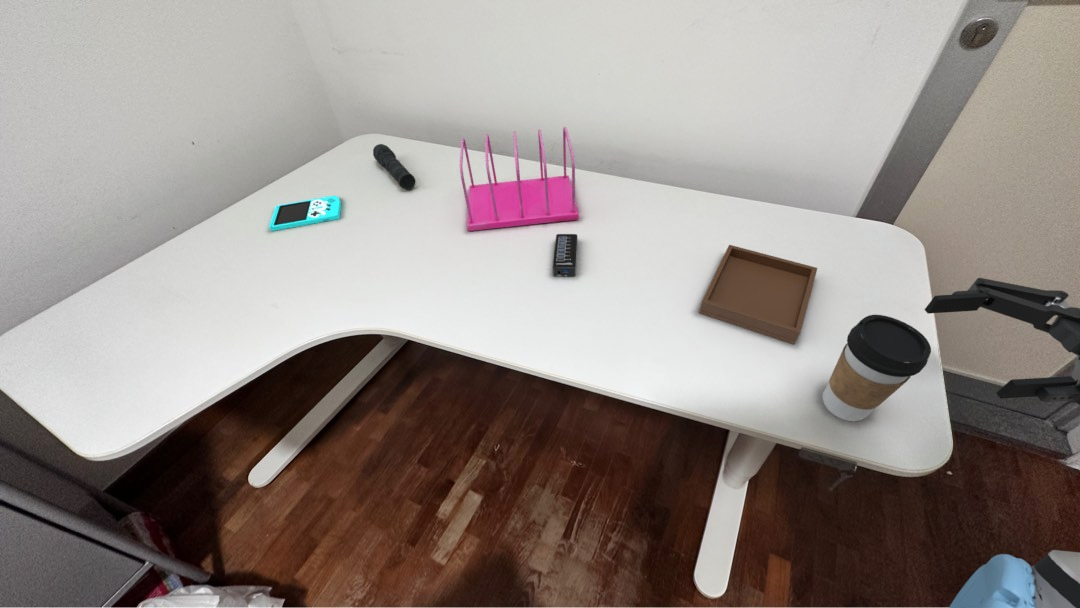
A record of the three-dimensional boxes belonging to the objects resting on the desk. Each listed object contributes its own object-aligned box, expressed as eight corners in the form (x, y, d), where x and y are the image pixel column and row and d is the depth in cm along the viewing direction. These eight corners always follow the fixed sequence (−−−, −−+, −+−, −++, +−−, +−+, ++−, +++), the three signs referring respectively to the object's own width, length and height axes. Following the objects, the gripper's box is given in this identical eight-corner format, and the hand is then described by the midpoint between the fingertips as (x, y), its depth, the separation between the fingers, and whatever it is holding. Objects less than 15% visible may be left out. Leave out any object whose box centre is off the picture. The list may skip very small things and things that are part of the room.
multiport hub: (577, 242, 97) (577, 233, 95) (575, 276, 89) (575, 267, 88) (556, 242, 98) (556, 233, 96) (553, 276, 90) (552, 267, 88)
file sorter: (578, 220, 103) (578, 155, 91) (468, 232, 102) (454, 168, 91) (569, 181, 115) (567, 119, 104) (470, 191, 115) (458, 130, 103)
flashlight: (392, 157, 130) (386, 141, 127) (419, 187, 118) (414, 169, 114) (375, 163, 129) (369, 146, 125) (401, 194, 116) (395, 176, 112)
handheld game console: (339, 219, 109) (337, 214, 108) (270, 232, 108) (267, 227, 107) (342, 198, 116) (340, 193, 115) (277, 209, 115) (274, 204, 114)
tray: (794, 344, 74) (800, 332, 72) (698, 313, 80) (701, 301, 78) (811, 280, 84) (817, 267, 82) (725, 256, 91) (729, 244, 89)
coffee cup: (820, 371, 70) (862, 302, 60) (883, 396, 67) (940, 328, 56) (805, 410, 66) (849, 343, 55) (872, 440, 62) (932, 375, 51)
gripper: (1221, 440, 50) (1021, 451, 51) (1040, 286, 68) (894, 295, 68) (1297, 403, 45) (1072, 415, 45) (1079, 246, 62) (920, 256, 63)
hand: (964, 343), depth 57 cm, fingers open, 13 cm apart
